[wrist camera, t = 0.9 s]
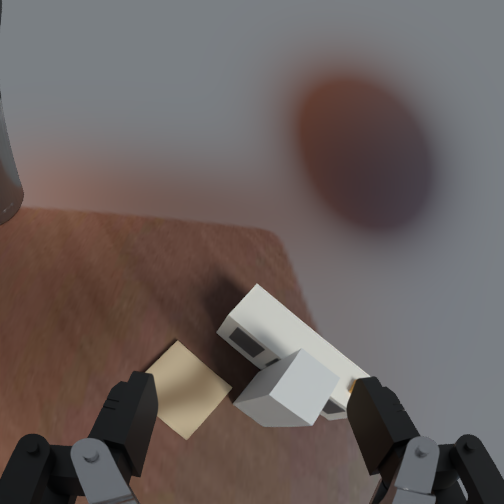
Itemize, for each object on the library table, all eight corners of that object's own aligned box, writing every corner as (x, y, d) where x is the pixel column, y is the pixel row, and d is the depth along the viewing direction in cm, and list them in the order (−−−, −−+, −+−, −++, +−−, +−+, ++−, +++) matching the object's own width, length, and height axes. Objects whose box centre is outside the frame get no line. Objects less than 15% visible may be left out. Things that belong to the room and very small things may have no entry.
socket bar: (215, 333, 32) (229, 313, 27) (241, 305, 35) (258, 280, 30) (328, 420, 30) (361, 416, 24) (346, 389, 33) (378, 379, 27)
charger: (232, 403, 28) (268, 394, 19) (267, 359, 32) (312, 331, 24) (263, 426, 27) (312, 425, 19) (295, 381, 32) (349, 360, 23)
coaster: (128, 389, 25) (128, 388, 25) (177, 341, 30) (177, 340, 30) (186, 439, 24) (186, 440, 24) (231, 388, 29) (232, 387, 29)
